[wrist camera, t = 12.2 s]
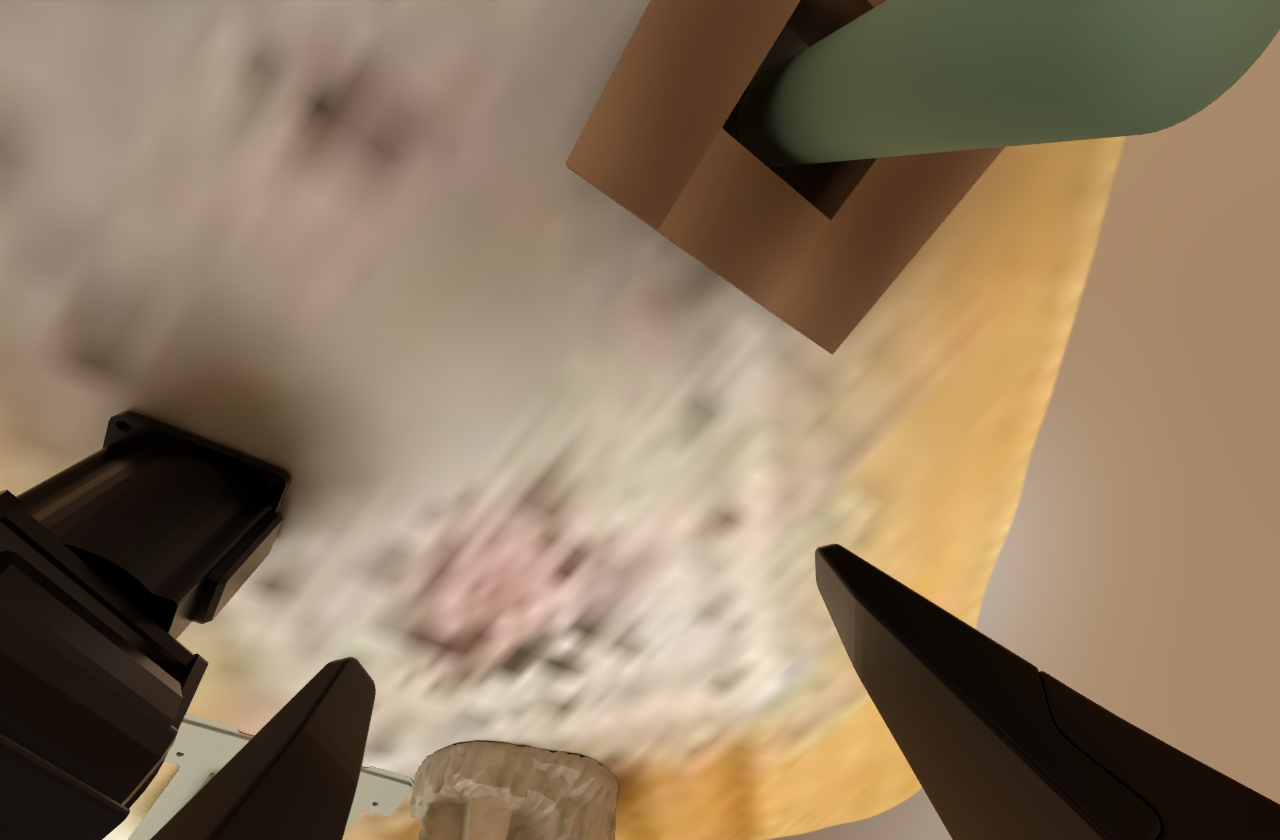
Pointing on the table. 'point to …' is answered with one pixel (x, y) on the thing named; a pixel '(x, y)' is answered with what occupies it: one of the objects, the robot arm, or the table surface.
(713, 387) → the table surface
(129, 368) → the table surface
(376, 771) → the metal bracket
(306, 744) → the robot arm
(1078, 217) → the table surface
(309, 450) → the table surface
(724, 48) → the hole block
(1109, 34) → the peg
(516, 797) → the ceramic cottage
